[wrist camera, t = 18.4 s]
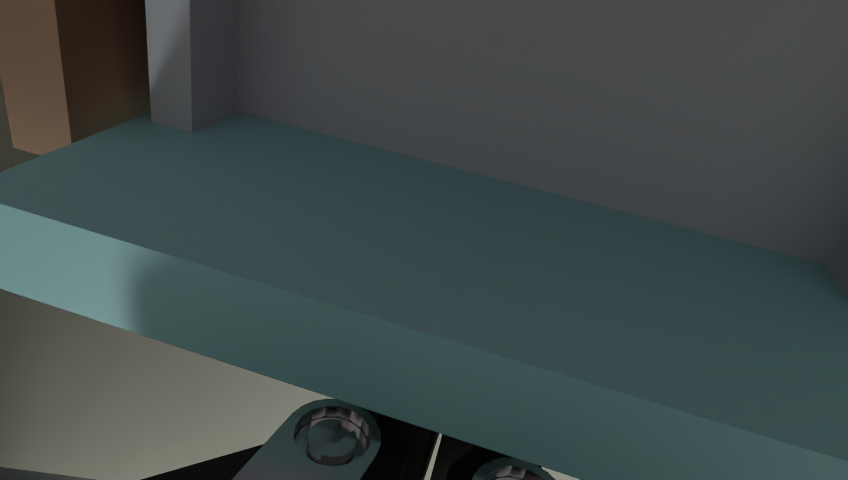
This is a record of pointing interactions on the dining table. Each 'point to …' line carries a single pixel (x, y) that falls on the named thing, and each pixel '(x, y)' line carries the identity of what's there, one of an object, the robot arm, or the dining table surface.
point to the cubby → (71, 68)
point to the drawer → (485, 220)
